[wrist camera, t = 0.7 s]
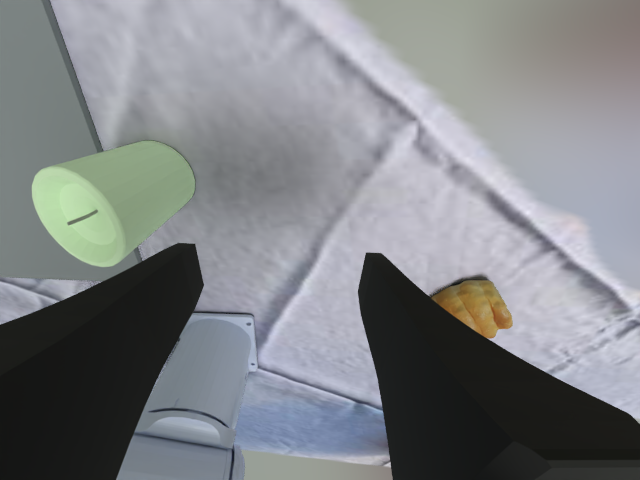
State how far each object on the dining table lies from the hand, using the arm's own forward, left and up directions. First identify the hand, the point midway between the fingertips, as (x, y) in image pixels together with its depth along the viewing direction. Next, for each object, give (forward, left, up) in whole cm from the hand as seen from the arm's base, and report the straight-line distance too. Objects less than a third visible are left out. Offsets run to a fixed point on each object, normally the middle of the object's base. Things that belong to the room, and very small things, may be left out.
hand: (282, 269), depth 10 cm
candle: (0, +10, -11) cm, 15 cm away
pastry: (-12, -17, -11) cm, 24 cm away
